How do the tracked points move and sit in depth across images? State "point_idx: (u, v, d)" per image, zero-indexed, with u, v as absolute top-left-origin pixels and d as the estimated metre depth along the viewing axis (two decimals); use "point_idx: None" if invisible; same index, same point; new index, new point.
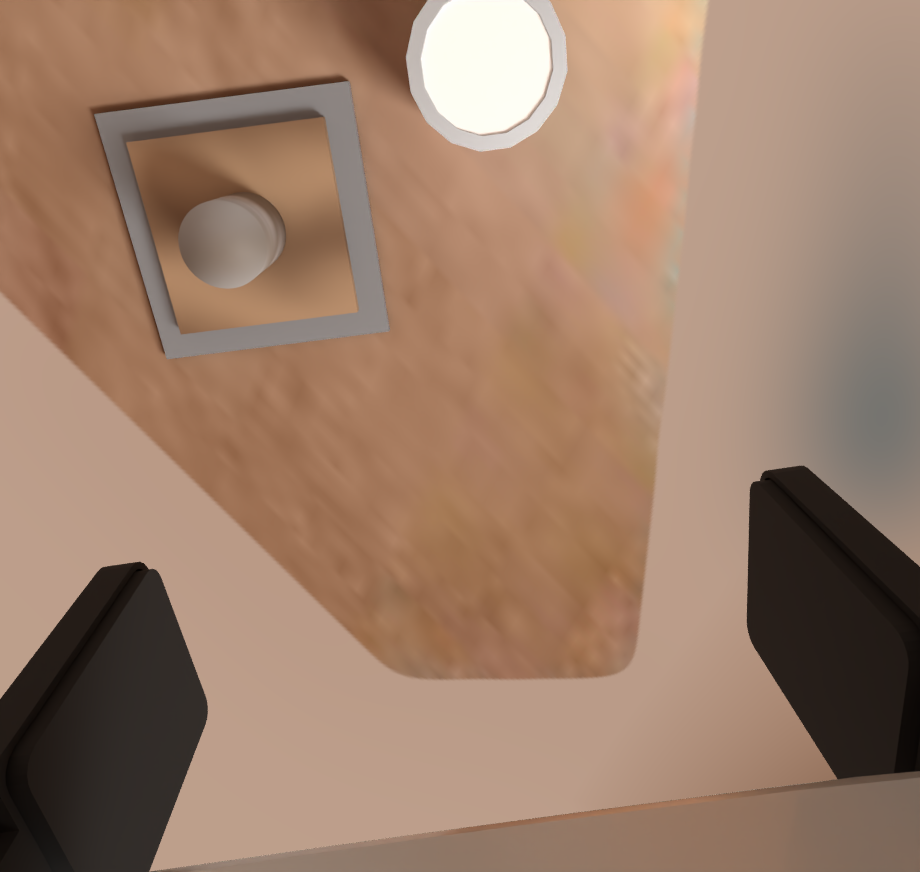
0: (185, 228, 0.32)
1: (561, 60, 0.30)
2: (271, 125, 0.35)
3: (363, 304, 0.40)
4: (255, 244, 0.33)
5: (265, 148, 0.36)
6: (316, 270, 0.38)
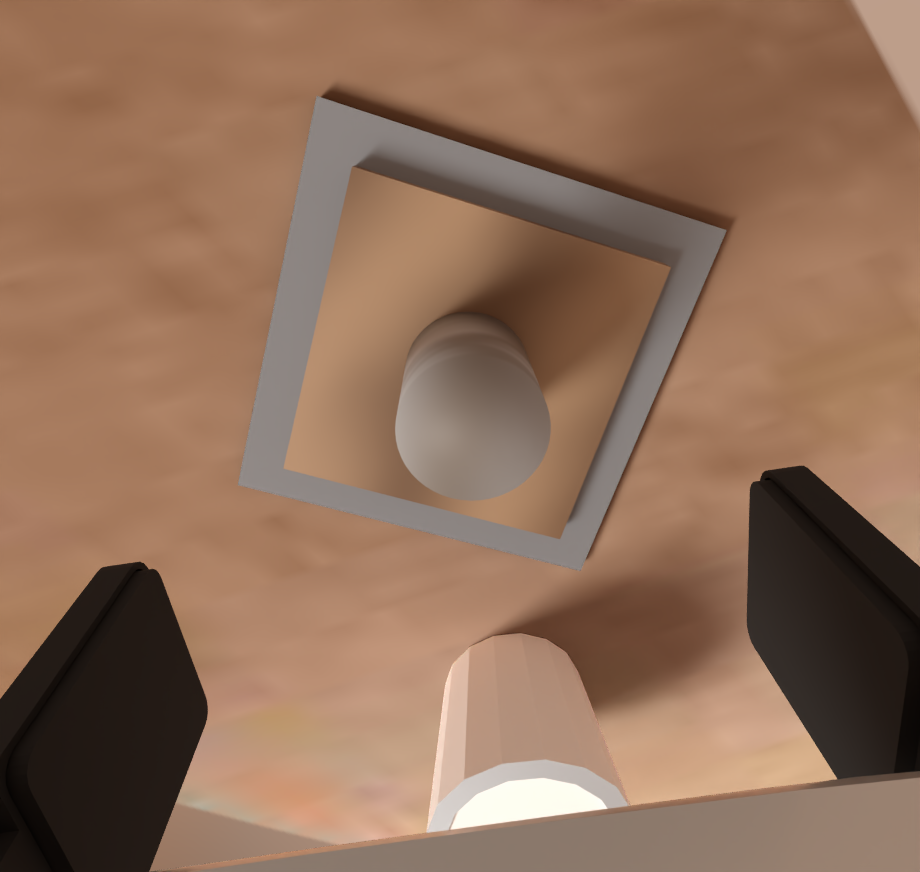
0: (526, 389, 0.18)
1: None
2: (583, 474, 0.24)
3: None
4: (451, 481, 0.19)
5: (561, 454, 0.24)
6: (369, 440, 0.23)
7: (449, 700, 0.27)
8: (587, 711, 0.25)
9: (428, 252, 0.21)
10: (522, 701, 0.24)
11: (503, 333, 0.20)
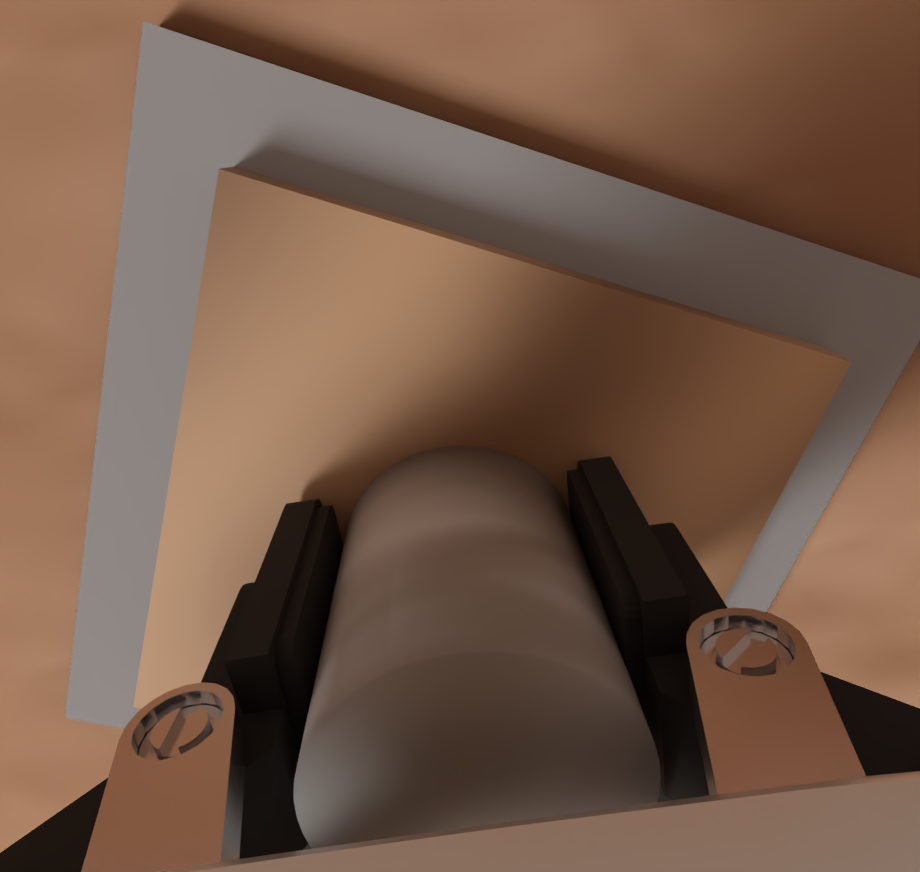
0: (609, 716, 0.07)
1: None
2: None
3: None
4: None
5: None
6: None
7: None
8: None
9: (383, 338, 0.11)
10: None
11: (535, 510, 0.10)
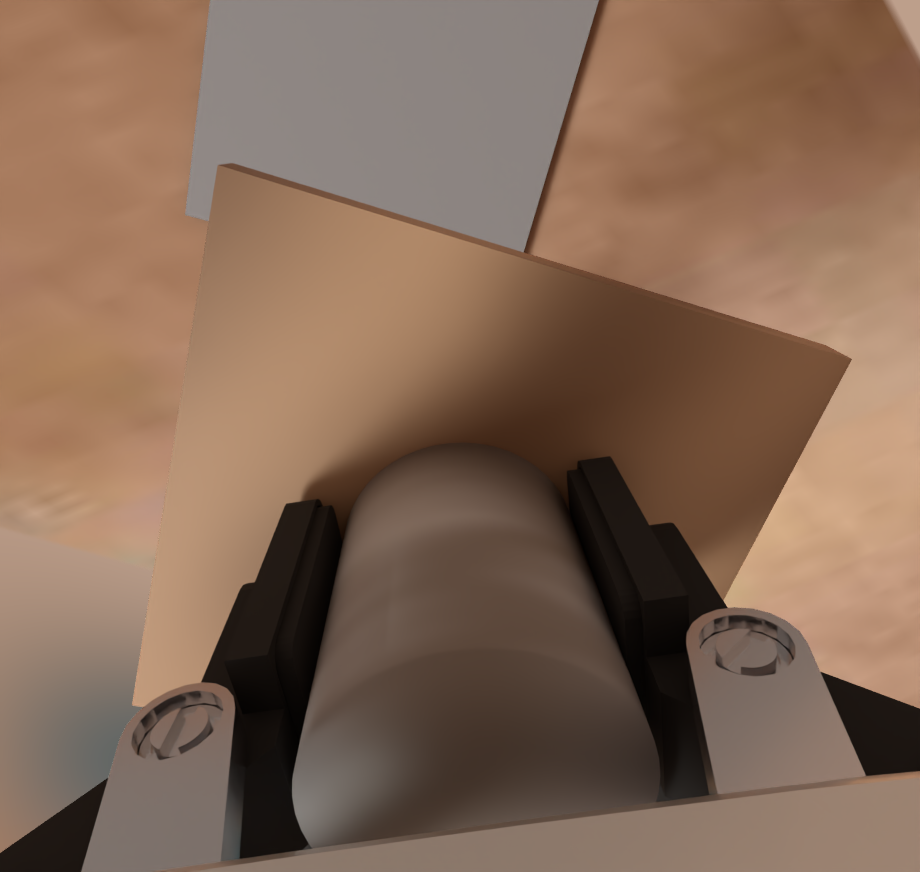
0: (608, 712, 0.07)
1: None
2: None
3: None
4: None
5: None
6: None
7: None
8: None
9: (382, 335, 0.11)
10: None
11: (534, 507, 0.10)
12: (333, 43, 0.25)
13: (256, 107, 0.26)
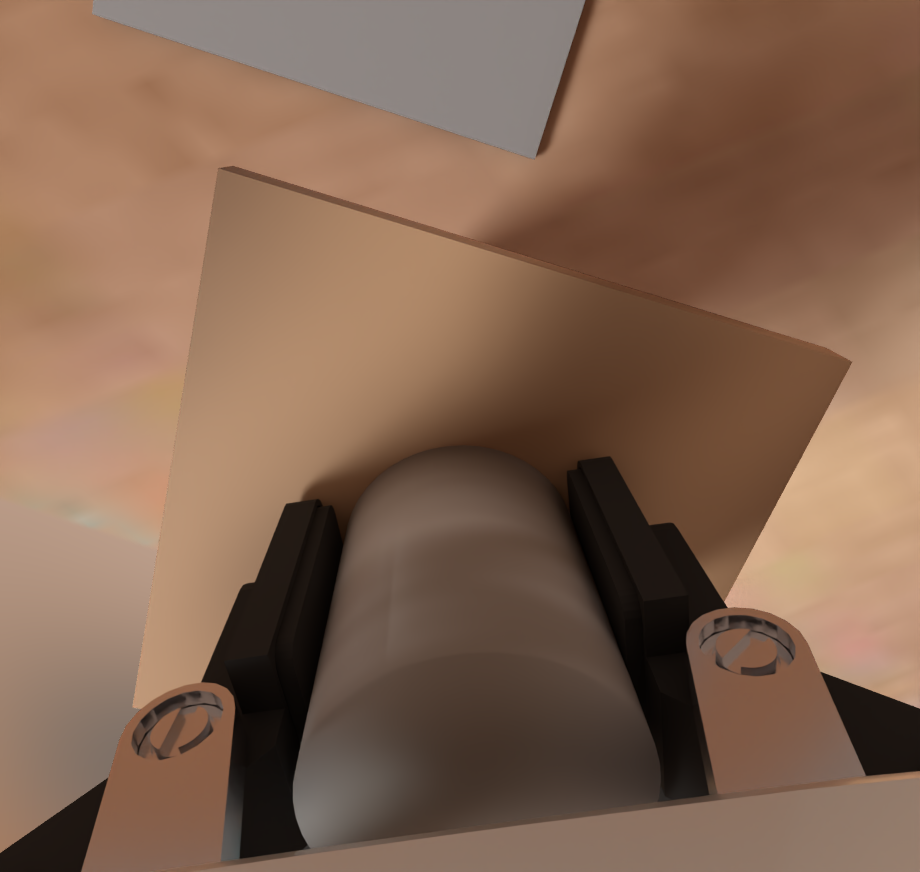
0: (609, 716, 0.07)
1: None
2: None
3: None
4: None
5: None
6: None
7: None
8: None
9: (382, 338, 0.11)
10: None
11: (534, 510, 0.10)
12: None
13: None
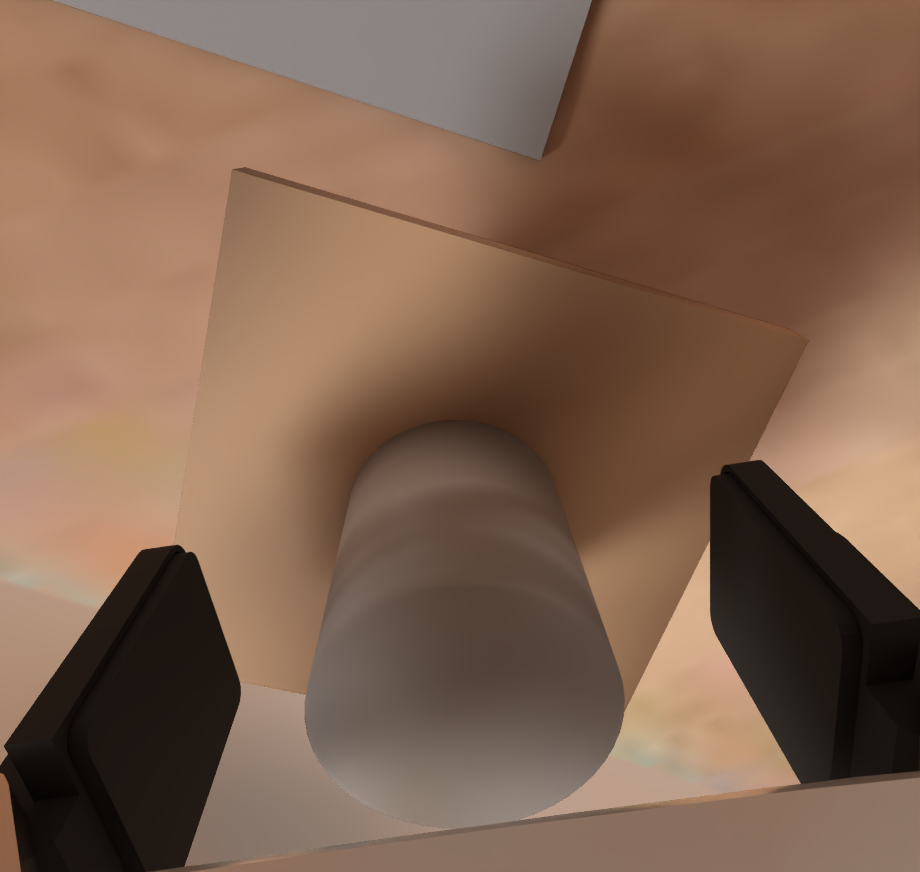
0: (577, 642, 0.08)
1: None
2: (644, 662, 0.15)
3: None
4: (423, 799, 0.09)
5: (609, 634, 0.15)
6: (294, 622, 0.14)
7: None
8: None
9: (381, 322, 0.12)
10: None
11: (518, 474, 0.11)
12: None
13: None
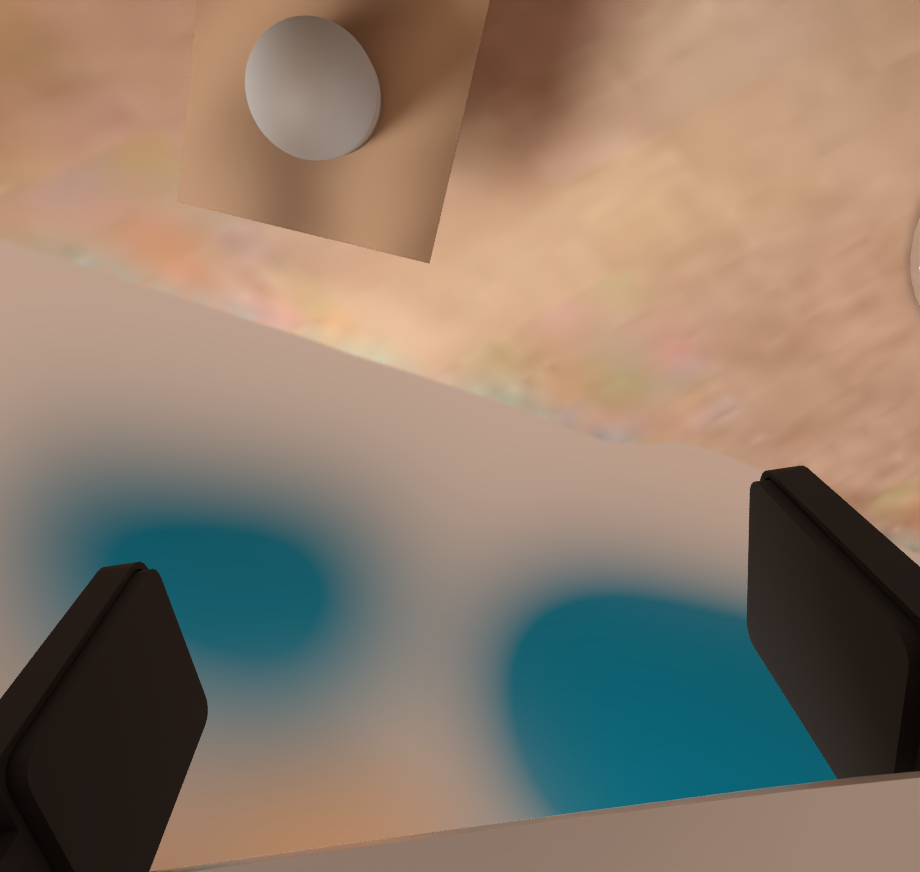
0: (351, 46, 0.21)
1: None
2: (442, 197, 0.28)
3: None
4: (299, 141, 0.22)
5: (420, 176, 0.27)
6: (250, 170, 0.27)
7: None
8: None
9: None
10: None
11: None
12: None
13: None
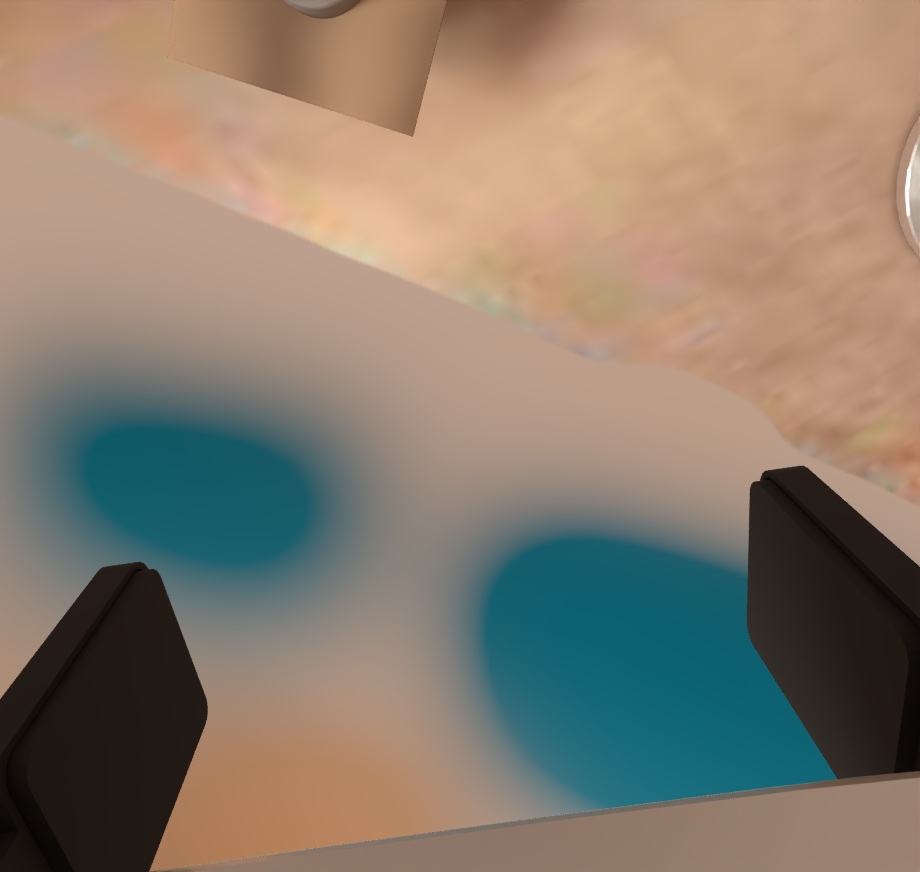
0: None
1: None
2: (427, 67, 0.28)
3: None
4: None
5: (406, 44, 0.28)
6: (239, 28, 0.27)
7: None
8: None
9: None
10: None
11: None
12: None
13: None
